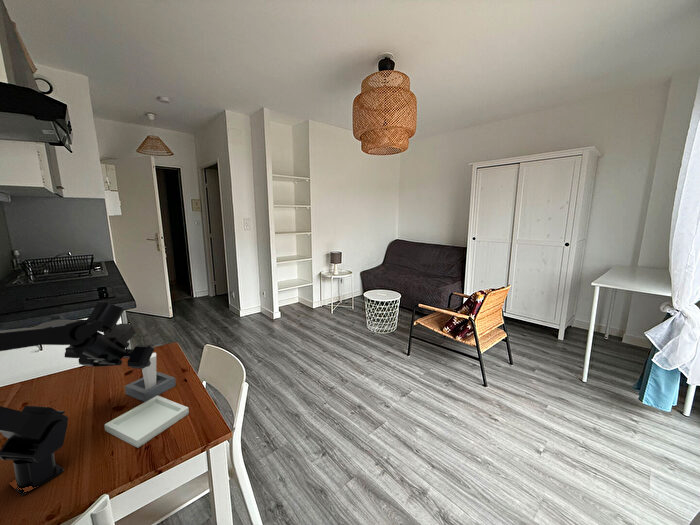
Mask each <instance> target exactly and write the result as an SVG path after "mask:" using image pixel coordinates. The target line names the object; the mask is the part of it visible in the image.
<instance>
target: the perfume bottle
mask: <svg viewBox="0 0 700 525" xmlns="http://www.w3.org/2000/svg"><path fill="white" fill-rule="evenodd" d="M150 362H151V364H150V366H149V367H145V368H143V369H142V368H141V372H142V378H144V383H145V387H144V389H146V390H147V389H149V388H151V387H153V386H155V385H157V384H158V383H156V371H157V352H153V353H152V355H151V357H150Z"/></svg>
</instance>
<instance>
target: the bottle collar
mask: <svg viewBox="0 0 700 525" xmlns="http://www.w3.org/2000/svg"><path fill="white" fill-rule="evenodd" d="M156 384H157V385H155V386H153V387H151V388H149V389H147V390H146V389H145V383H144V378H143V377H141V378H138V379H136V380H135V381H131V383H130V382H129V383H128V384H126V385H124V391H125V395H127V396H129V397H131V398H134V399H136V400H138V401H140V402H142V403H145V402H146V401H148V400H150V399H152V398H154V397H155V396H157V395H158V396H160V395H162V394H163V393H165V392H167V391H168V390H170V389H172V388H174V387H176V377H174V376H171V375H168V374H165V373H163V372H160V371H157V370H156Z"/></svg>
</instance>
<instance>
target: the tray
mask: <svg viewBox="0 0 700 525" xmlns="http://www.w3.org/2000/svg"><path fill="white" fill-rule="evenodd" d="M189 412H190V411H189V407H188V406H185V405H183V404H180V403H178V402H175V401H172V400H170V399H169V398H165V397H163V396H160V395H157V396H155V397H154V398H152V399H150V400H148V401H146V402H142V403H141V404H139V405H138V406H135V407H133V408H132V409H129V411H126V412H125V413H122V414H121V415H119V416H117V417H116V418H113V419H112V420H110V421H109V422H108V421H107V422H106V423H104V431H105V432H107V433H108V434H110V435H112V436H114V437H116V438H118V439H120V440H121V441H124V442H125V443H127V444H129V445H131V446H132V447H135V448H137V449H138V448H140V447H142V446H143V445H145V444H146V443H148V442H150V440H152V439H154V438H155V437H156V436H158V435H160V434H161V433H163V432H164V431H165V430H167V429H168V428H170V427H171V426H173V425H174V424H176V423H177V422H179V421H180V420H181V419H183V418H185V417H186V416H188V415H189V414H190V413H189Z"/></svg>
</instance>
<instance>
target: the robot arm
mask: <svg viewBox="0 0 700 525" xmlns="http://www.w3.org/2000/svg"><path fill="white" fill-rule="evenodd" d="M124 312H125V309H124V308H123V307H121V306H117V305H116V304H112V303H108V302H107V301H97V303H96V304H95V306H94V308H93V309H92V311H91V313H90V314H89V316H88V317H87V318H86V319H81V318H80V319H54V320H50V321H46V322H43V323H40V324H38V325H35V326H32V327H31V326H30V327H22V328H12V329H2V330H1V329H0V352H5V351H11V350H18V349H24V348H31V347H38V346H67V347H66V348H65V349H64V350H65V352H64V358H67V359H78V364H79V365H82V366H83V367H94V368H95V367H96V368H97V367H112V366H122V365H123V360H122V359H124V358H127V359H128V360H127V367H129V368H132V369H139V370H140V369H141V370H142V369H143V368H145V367H149V366H150V364H151V362H150V357H151V355H152V353H154V351H155V347H154V346H152V345H151V344H137V345H135V346H134V348H128V347H129V346H130V342H129V341H130V340H131V339H132V338H133V337H134V336H135V335H137V330H136V329H135V327H134V325H133V324H132V323H118V321H120V318H121V317H122V316H123V314H124ZM117 323H118V324H117ZM65 413H66V410H58V409H57V410H56V409H54V408H52V407H50V406H35V405H24V407H23V408H22V410H17V409H13V408H9V407H6V406H1V405H0V433H1V434H2V436H3V437H4V438H6V439H7V440H6V441H5V442H4V444H3V445H2V447H1V448H0V460H2V461H6V460H7V461H12V463H13V469H14V476H15V479H16V482H17V486H18V487H19V488H21V489H22V488H25V487H29V486H32V487H33V488H34V487H37V486H39V487H40V486H42V485H44V484H45V483H47V482H49V481H50V480H52V479H54V478H55V477H56V476H58V475H60V474H61V473H63V472H64V471H65V469H64V467H62V465H61V466H60V465H59V464H58V463H56V458H55V452H56V451H58V450H59V449H61V448H62V447H63V446H64V442H65V438H66V435H67V434H66V433H67V430H68V426H69V425H68V424H69V423H68V422H69V421H68V420H69V417H68V415H66V414H65ZM43 483H44V484H43ZM41 484H42V485H41ZM18 487H17V488H18ZM17 488H16V490H17V491H18V492H20V493H21V494H22V495H21V494H20V495H21V496H25V495H24V494H25V493H27V492H28V491H27V492H24V490H23V489H22V490H20V489H19V488H18V489H19V490H18V489H17ZM37 488H38V487H37ZM16 490H15V491H16ZM17 491H16V492H17ZM18 492H17V493H18ZM23 492H24V493H23ZM27 494H28V493H27Z"/></svg>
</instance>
